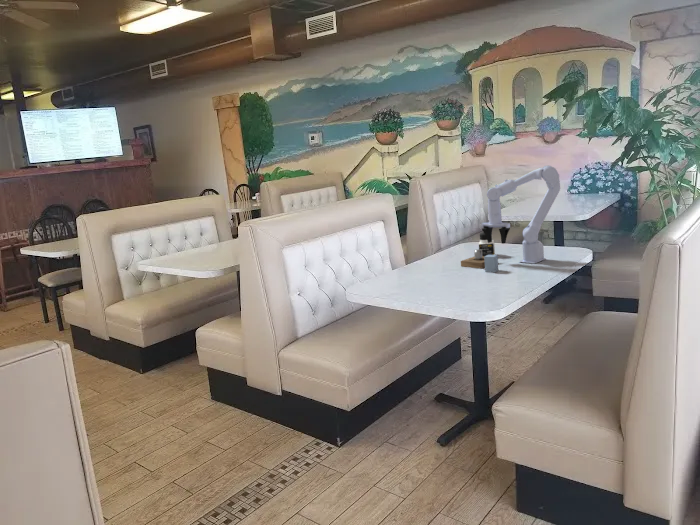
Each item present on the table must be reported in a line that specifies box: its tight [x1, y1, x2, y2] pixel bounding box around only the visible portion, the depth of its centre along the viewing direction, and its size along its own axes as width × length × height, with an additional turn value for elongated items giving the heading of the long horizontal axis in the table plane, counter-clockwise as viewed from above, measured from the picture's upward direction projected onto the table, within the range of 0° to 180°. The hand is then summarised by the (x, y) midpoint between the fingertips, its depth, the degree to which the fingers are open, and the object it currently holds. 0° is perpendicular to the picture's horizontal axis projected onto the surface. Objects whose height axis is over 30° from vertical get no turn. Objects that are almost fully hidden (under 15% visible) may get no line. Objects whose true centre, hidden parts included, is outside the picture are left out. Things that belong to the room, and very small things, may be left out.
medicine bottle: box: [478, 231, 496, 256], centre depth 280 cm, size 7×7×12 cm
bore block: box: [460, 255, 485, 269], centre depth 264 cm, size 12×12×3 cm
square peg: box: [484, 254, 499, 273], centre depth 249 cm, size 4×4×7 cm
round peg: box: [473, 248, 483, 261], centre depth 264 cm, size 4×4×7 cm
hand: (496, 242), depth 260 cm, fingers open, 7 cm apart
